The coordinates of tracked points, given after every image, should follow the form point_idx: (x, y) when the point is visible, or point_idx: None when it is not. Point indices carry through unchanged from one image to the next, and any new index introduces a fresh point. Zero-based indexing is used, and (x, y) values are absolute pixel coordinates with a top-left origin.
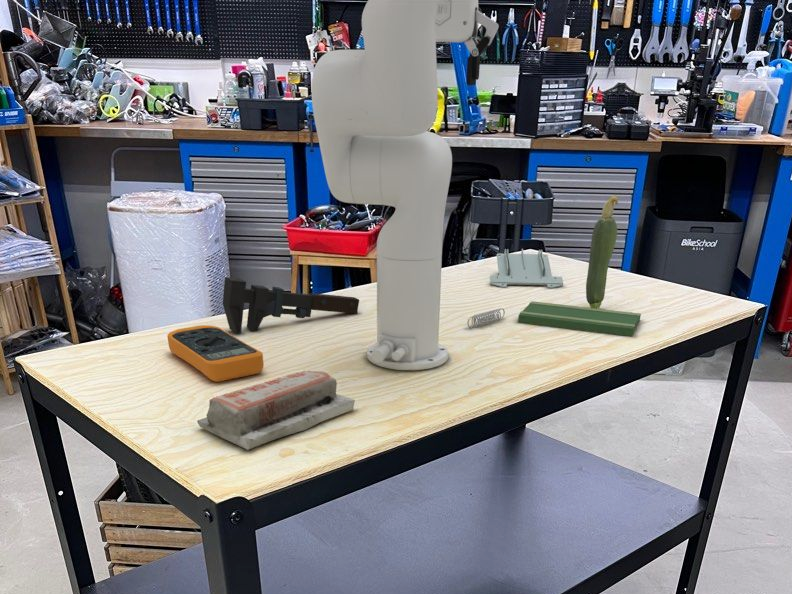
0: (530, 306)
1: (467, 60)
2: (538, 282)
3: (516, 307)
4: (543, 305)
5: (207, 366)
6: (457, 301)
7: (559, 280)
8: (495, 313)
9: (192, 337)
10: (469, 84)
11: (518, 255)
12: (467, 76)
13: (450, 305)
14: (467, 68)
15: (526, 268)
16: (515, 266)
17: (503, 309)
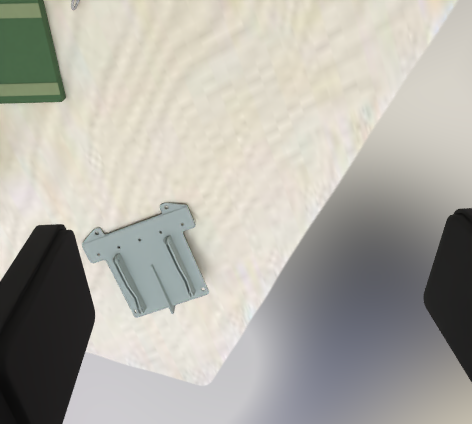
0: (46, 64)
1: (10, 337)
2: (117, 233)
3: (92, 95)
4: (30, 82)
5: None
6: (199, 86)
7: (89, 251)
8: None
9: None
10: (47, 226)
11: (175, 299)
12: (48, 253)
13: (200, 54)
14: (33, 292)
15: (150, 268)
16: (168, 267)
17: (71, 5)
